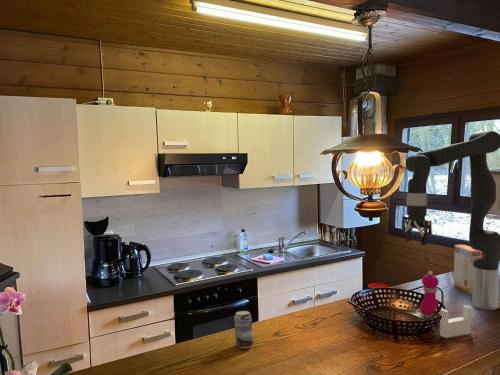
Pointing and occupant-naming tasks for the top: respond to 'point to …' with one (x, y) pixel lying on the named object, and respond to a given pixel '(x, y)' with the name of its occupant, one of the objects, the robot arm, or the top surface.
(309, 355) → the top surface
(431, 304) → the pepper mill
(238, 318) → the beverage can
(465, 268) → the cracker box
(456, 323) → the u rest
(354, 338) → the top surface
